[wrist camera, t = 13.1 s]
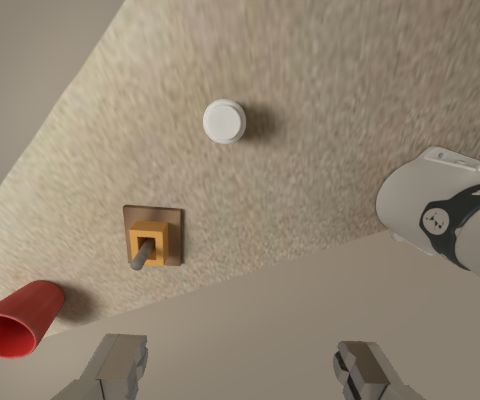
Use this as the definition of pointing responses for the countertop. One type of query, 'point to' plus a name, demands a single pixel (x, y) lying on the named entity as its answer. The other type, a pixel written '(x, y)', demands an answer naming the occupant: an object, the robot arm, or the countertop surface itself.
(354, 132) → the countertop surface
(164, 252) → the orange hollow square block
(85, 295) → the countertop surface
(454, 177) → the robot arm
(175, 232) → the peg mounting plate
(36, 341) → the flower pot
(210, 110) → the supplement bottle
